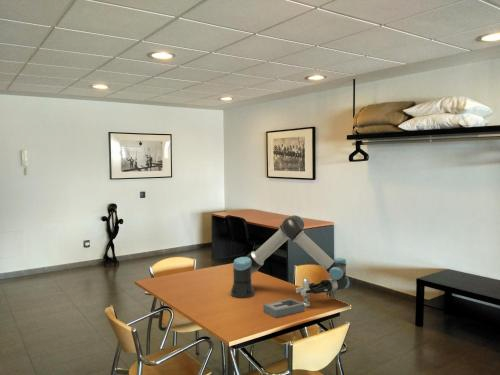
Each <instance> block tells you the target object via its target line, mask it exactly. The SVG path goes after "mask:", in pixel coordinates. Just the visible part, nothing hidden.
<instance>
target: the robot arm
mask: <svg viewBox="0 0 500 375" xmlns="http://www.w3.org/2000/svg"><path fill="white" fill-rule="evenodd" d="M304 227H305V221H304V219H303V218H302V217H301V216H299V215H291V216H288V217H287V218H284V220H283V221H282V223H281V224H280V225H279V228H278V230H277V231H276V232H275V233H273V235H272V236H271V237H269V238H268V239H267V240H266V241H265V242H263V244H262V245H260V246H259V248H257V249H256V250H255V251H254V250H253V251H251V252H250V253H249V254H247V255H245V256H240V257H237V258H235V259H234V260H233V263H232V264H233V265H232V267H233V272H232V273H233V284H232V286H231V287H232V288H231V290H230V296H232V297H234V298H238V299H239V298H240V299H244V298H245V299H247V298H251V297H253V296H254V295H255V290H254V287H253V284H252V274H254V273H256V272H258V271H259V269H260V268H261V267H262V266H263V265H264V263H265V260H267V259H268V258H270V256H271V255H272V254H274V253H275V251H277V250H278V249H279V248H280V247H281V246H282V245H283V244H285V243H286V242H287V241H288V240H290V241H292V242H293V243H296V244H297V245H298V246H300V248H302V249H303V251H304V252H306V253H307V255H309V256H310V257H311V258H312V259H313V260H314V261H315V262H316V263H317V264H318V265H319V266H321V268H323V269H324V270H325V271H326V273H328V275H329V278H327V279H323V280H321V281H320V282H318V283H315V282H312V283H309V289H304V290H303V286H300V287H296V288H295V293H296V294H298V293H300V295H301V296H303V295H305V294H309V295H310V294H314V295H317V294H322V293H324V294H326V293H330V292H332V293H333V292H334V291H339V290H344V289H347V288H349V287H350V282H351V281H350V279H349V277H348V276H347V262H346V261H347V260H346V259H345V258H343V257H336V258H332V257H330V256H329V255H328V254H327V253H326V252H325V251H324V250H323V249H322V248H321V247H320V246H319V245H318V244H316V243H315V242H314V241H313V240H312V239H311V238H310V237H309V236H308V235H307V234H305V232H304V231H305V230H304Z"/></svg>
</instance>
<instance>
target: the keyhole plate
mask: <svg viewBox="0 0 500 375" xmlns="http://www.w3.org/2000/svg"><path fill="white" fill-rule="evenodd" d="M262 309H263V310H262V311H263V312H264V313H266V314H267V315H270V316H272V317H273V318H277V319H278V318H280V317H285V316H289V315H293V314H298V313H301V312H305V307H304V304H303V303H302V302H301V301H298V300H296V299H294V298H287V299H282V300H277V301H273V302H268V303H263V308H262Z"/></svg>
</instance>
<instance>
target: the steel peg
mask: <svg viewBox="0 0 500 375" xmlns="http://www.w3.org/2000/svg"><path fill="white" fill-rule="evenodd" d="M309 284H310V278H305V277H304V278H302V287H303V290H304V289H309ZM302 299H304V300H303V301H301V303H303V304H304V308H310V307H311V302H310V301H308V299H310V293H309V294H305V295H302Z"/></svg>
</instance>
